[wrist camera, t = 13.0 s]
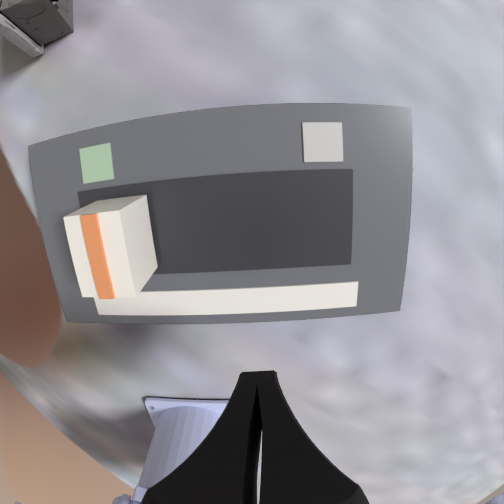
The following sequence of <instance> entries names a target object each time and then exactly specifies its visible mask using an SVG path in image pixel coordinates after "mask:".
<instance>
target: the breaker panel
mask: <svg viewBox="0 0 504 504" xmlns="http://www.w3.org/2000/svg"><path fill="white" fill-rule="evenodd" d="M28 150H29V159H30V168H31V175H32V182H33V189H34V195H35V201H36V206H37V212H38V217H39V222H40V227H41V231H42V236H43V240H44V245H45V249H46V253H47V257H48V261H49V264H50V268H51V272H52V275H53V279H54V282H55V286H56V289H57V292H58V296H59V299H60V302H61V305H62V308H63V311H64V314H65V317H66V320H67V322H85V323H113V324H222V323H251V322H272V321H290V320H306V319H319V318H332V317H344V316H355V315H365V314H375V313H385V312H394V311H400V306H401V300H402V293H403V286H404V278H405V270H406V262H407V252H408V242H409V230H410V216H411V198H412V117H411V108H408V107H397V106H385V105H369V104H345V103H286V104H262V105H246V106H233V107H222V108H212V109H202V110H194V111H186V112H179V113H172V114H165V115H158V116H152V117H146V118H141V119H135V120H130V121H125V122H120V123H115V124H110V125H105V126H101V127H96V128H92V129H88V130H84V131H79V132H75V133H72V134H68V135H64V136H60V137H57V138H53V139H49V140H46V141H43V142H39V143H36V144H33V145H29V146H28ZM139 195H147V203H148V210H149V217H150V224H151V230H152V236H153V243H154V249H155V255H156V260H157V266H158V267H157V269H156V270H155V271H154V273H153V274H152V276H151V277H150V278H149V280H148V281H147V283H146V284H145V285H144V287H143V288H142V290H141V291H140V293H139V294H138V295H137V297H115V298H114V299H99V297H82V294H81V290H80V287H79V283H78V279H77V276H76V272H75V268H74V264H73V260H72V256H71V252H70V247H69V243H68V238H67V234H66V229H65V224H64V219H63V217H65V216H67V215H69V214H71V213H73V212H75V211H77V210H79V209H81V208H83V207H85V206H87V205H89V204H91V203H93V202H95V201H99V200H106V199H114V198H122V197H130V196H139Z"/></svg>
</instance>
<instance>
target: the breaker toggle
mask: <svg viewBox="0 0 504 504" xmlns="http://www.w3.org/2000/svg"><path fill="white" fill-rule="evenodd" d="M63 219H64V224H65V229H66V234H67V238H68V243H69V247H70V252H71V256H72V260H73V264H74V268H75V272H76V276H77V279H78V283H79V287H80V290H81V294H82V297H99V299H114V298H115V297H137V295H138V294H139V293H140V291H141V290H142V288H143V287H144V285H145V284H146V283H147V281H148V280H149V278H150V277H151V276H152V274H153V273H154V271H155V270H156V269H157V267H158V266H157V260H156V255H155V249H154V243H153V236H152V230H151V224H150V217H149V210H148V203H147V195H139V196H130V197H122V198H114V199H106V200H99V201H95V202H93V203H91V204H89V205H87V206H85V207H83V208H81V209H79V210H77V211H75V212H73V213H71V214H69V215H67V216H65V217H63Z"/></svg>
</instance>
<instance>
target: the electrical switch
mask: <svg viewBox="0 0 504 504" xmlns="http://www.w3.org/2000/svg"><path fill="white" fill-rule="evenodd" d="M56 8H58V9H56ZM67 11H68V12H67ZM70 33H73V2H72V0H58V2H57V3H56V4H55V5H53V4H52V2H51V1H50V0H0V35H1V36H2V37H4V38H5V39H7V40H8V41H10V42H11V43H13V44H14V45H15V46H17V47H18V48H20V49H21V50H23V51H24V52H26V53H27V54H28V55H30V56H31V57H36V56H39V55H41V54H43V53H44V44H46V43H49V42H51V41H54V40H56V39H57V38H59V37H61V36H64V35H67V34H70Z"/></svg>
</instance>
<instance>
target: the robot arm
mask: <svg viewBox="0 0 504 504" xmlns="http://www.w3.org/2000/svg"><path fill="white" fill-rule="evenodd" d="M145 405H146V408H147V410H148V413H149V415H150V418H151V420H152V423H153V425H154V427H155V431H154V434H153V437H152V440H151V443H150V447H149V450H148V453H147V456H146V460H145V463H144V466H143V470H142V473H141V477H140V480H139V483H138V486H136V488H135V492H134V495H133V499H132V500H130V498H131V496H129V495H127V494H123V495H122V496H119V497H116V498H115V499H114V501H113V503H112V504H257V471H258V461H259V452H260V442H261V432H262V464H261V485H260V501H259V504H369V502H368V500H367V498H366V496H365V494H364V492H363V491H362V489H361V487H360V486H359V485H358V484H356V483H355V482H354V481H352V480H351V479H350V478H348V477H347V476H346V475H345V474H343V473H342V472H341V471H340V470H339V469H338V468H337V467H336V466H334V465H333V464H332V463H331V462H330V461H329V460H328V459H327V458H326V457H325V455H324V454H323V453H322V452H321V451H320V450H319V449H318V448H317V447H316V446H315V444H314V443H313V442H312V441H311V439H310V438H309V437H308V436H307V434H306V433H305V431H304V430H303V429H302V427H301V426H300V424H299V423H298V421H297V419H296V418H295V416H294V414H293V413H292V411H291V409H290V407H289V405H288V403H287V401H286V399H285V397H284V395H283V393H282V390H281V388H280V385H279V382H278V378H277V372H275V371H274V370H273V371H255V372H242V373H241V374H240V375H239V379H238V382H237V384H236V387H235V389H234V391H233V393H232V396H231V398H230V400H183V399H164V398H150V397H149V398H146V399H145ZM15 504H21V503H19V502H16V503H15ZM486 504H504V493H502V494H500V495H499V496H497V497H495V498H493V499H491V500H490V501H488V502H487V503H486Z"/></svg>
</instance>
